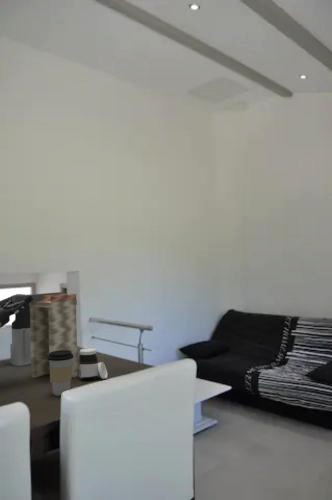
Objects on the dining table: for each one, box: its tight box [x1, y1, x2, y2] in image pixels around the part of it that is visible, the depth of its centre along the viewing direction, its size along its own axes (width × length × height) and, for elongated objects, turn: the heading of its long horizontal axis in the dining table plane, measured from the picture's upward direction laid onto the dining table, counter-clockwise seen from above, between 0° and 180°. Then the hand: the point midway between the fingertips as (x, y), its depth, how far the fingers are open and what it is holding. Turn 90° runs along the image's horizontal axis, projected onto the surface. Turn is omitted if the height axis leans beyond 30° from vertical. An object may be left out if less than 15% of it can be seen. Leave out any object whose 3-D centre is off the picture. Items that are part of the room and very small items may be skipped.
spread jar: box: [78, 347, 108, 381], centre depth 176 cm, size 12×11×12 cm
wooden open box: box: [29, 293, 79, 383], centre depth 181 cm, size 13×16×34 cm
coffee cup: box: [47, 350, 74, 397], centre depth 157 cm, size 9×9×15 cm
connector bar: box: [11, 291, 64, 303], centre depth 181 cm, size 21×3×3 cm, turn 129°
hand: (26, 297), depth 176 cm, fingers open, 8 cm apart
